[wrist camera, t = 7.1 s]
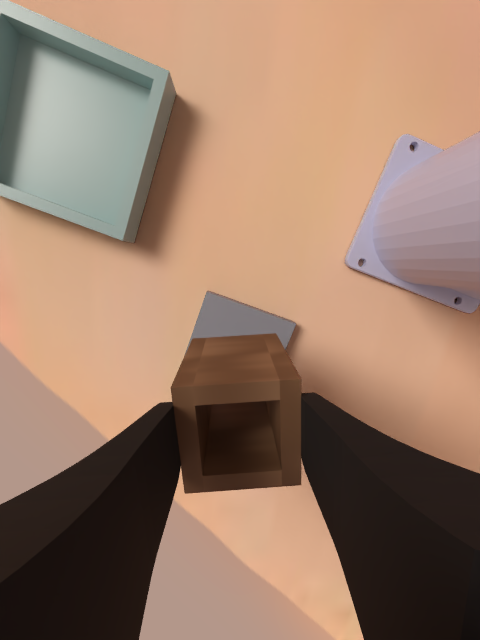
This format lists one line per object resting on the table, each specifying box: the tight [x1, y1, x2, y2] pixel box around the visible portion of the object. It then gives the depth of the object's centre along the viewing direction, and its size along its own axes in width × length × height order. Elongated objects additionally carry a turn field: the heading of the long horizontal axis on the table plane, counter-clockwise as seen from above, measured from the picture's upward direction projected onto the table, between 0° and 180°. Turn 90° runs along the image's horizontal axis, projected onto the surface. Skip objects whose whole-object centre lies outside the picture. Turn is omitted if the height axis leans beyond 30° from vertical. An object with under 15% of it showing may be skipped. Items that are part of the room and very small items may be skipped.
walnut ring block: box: [171, 333, 301, 494], centre depth 12 cm, size 4×4×5 cm
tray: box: [0, 0, 176, 243], centre depth 15 cm, size 9×9×2 cm
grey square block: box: [185, 291, 296, 354], centre depth 16 cm, size 6×6×4 cm
